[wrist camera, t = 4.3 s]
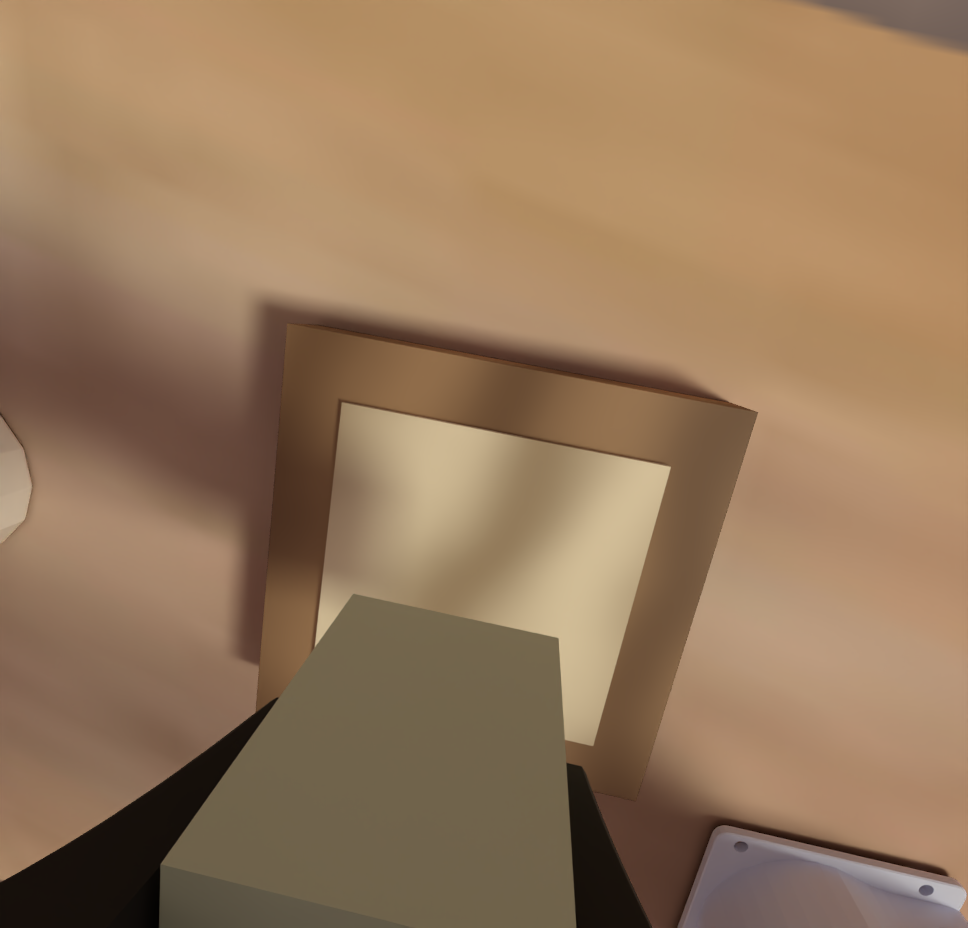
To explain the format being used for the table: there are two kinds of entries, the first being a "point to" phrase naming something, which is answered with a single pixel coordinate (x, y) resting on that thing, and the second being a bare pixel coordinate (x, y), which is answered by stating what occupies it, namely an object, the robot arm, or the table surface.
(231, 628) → the table surface
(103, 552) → the table surface
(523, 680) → the sage block
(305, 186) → the table surface
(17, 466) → the white cup
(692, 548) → the plinth
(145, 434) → the table surface
